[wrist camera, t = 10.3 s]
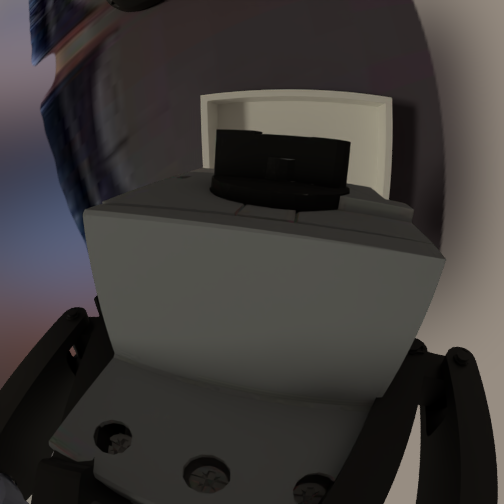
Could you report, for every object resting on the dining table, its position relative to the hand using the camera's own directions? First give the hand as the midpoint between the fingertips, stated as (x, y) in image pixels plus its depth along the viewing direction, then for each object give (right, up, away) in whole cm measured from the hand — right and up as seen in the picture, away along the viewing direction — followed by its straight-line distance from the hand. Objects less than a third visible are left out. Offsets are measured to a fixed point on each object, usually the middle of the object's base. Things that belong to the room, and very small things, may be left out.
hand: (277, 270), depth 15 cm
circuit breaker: (+1, +1, +2) cm, 2 cm away
